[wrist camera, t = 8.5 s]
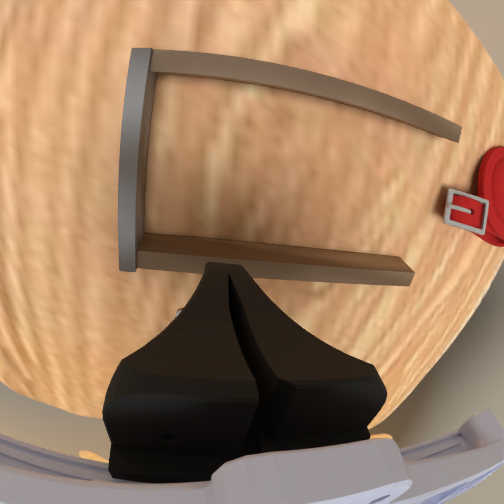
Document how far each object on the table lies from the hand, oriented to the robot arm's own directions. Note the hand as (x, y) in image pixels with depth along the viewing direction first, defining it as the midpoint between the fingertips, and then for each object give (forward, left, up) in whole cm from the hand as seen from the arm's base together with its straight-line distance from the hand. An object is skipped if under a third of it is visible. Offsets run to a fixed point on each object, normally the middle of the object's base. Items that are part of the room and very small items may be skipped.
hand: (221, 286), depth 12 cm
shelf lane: (+3, -5, -9) cm, 11 cm away
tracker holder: (+5, -23, -10) cm, 25 cm away
